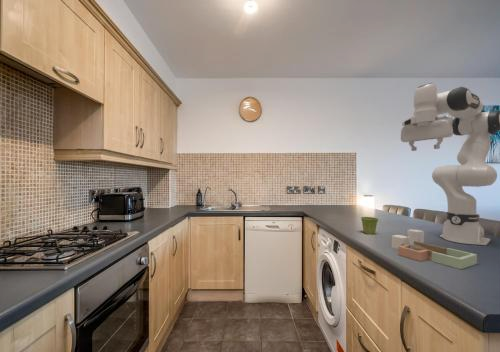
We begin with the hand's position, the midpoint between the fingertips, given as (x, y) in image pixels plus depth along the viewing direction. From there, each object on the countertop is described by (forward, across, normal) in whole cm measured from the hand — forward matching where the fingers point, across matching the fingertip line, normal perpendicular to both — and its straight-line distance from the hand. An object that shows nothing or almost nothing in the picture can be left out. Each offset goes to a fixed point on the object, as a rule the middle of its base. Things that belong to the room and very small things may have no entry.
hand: (424, 149), depth 110 cm
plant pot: (+45, +31, -4) cm, 55 cm away
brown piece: (+45, -5, +10) cm, 46 cm away
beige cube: (+45, +5, -2) cm, 46 cm away
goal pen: (+45, -15, +10) cm, 48 cm away
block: (+45, +5, +10) cm, 47 cm away
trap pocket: (+45, -5, +17) cm, 48 cm away
